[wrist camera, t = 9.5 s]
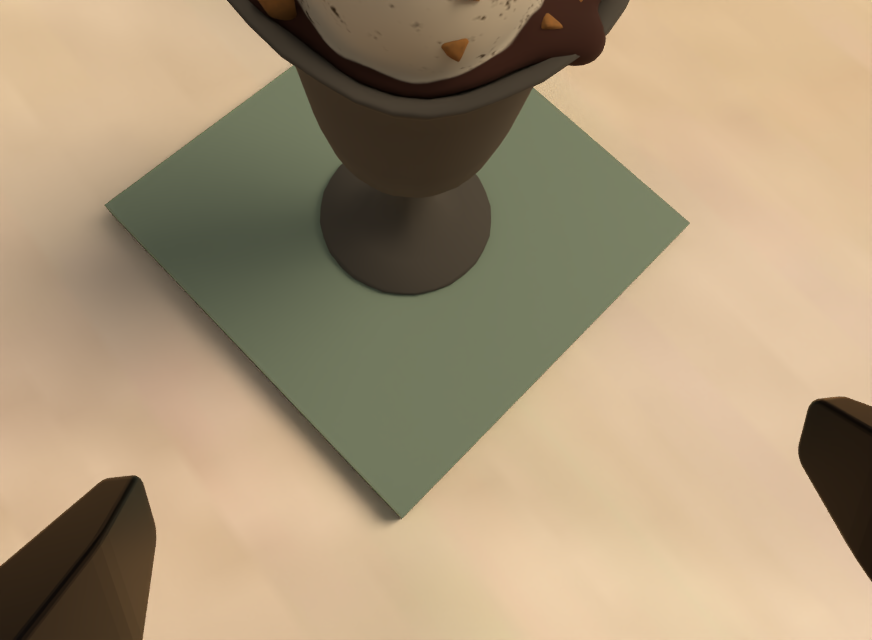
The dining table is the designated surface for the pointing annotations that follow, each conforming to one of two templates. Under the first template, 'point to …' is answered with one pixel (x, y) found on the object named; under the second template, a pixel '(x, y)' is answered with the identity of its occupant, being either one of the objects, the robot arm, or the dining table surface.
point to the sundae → (420, 115)
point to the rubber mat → (386, 312)
